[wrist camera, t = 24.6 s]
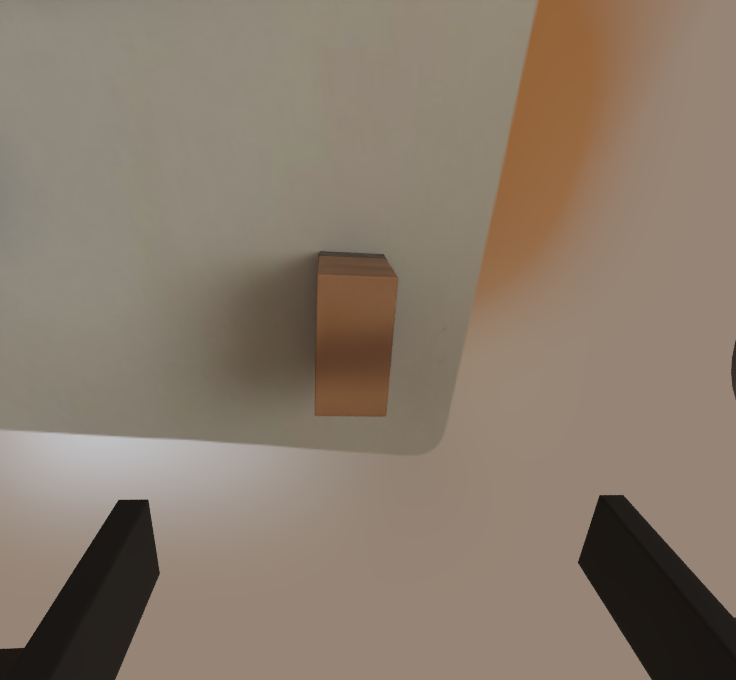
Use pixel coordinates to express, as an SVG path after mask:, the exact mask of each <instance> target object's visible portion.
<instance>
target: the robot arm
mask: <svg viewBox="0 0 736 680" xmlns="http://www.w3.org/2000/svg"><path fill="white" fill-rule="evenodd" d="M578 564H579V565H580V567H581V568H582V570H583V571H584V573H585V575H586V576H587V578H588V579H589V581H590V582H591V584H592V586H593V587H594V589H595V590H596V592H597V593H598V595H599V597H600V598H601V600H602V601H603V603H604V604H605V606H606V608H607V609H608V611H609V613H610V614H611V616H612V617H613V619H614V621H615V622H616V623H617V625H618V627H619V628H620V630H621V632H622V633H623V635H624V636H625V638H626V640H627V641H628V643H629V644H630V645H631V647H632V649H633V650H634V652H635V654H636V655H637V657H638V658H639V660H640V661H641V663H642V665H643V666H644V668H645V670H646V671H647V673H648V674H649V676H650V677H651V679H652V680H736V618H733V616H732V615H731V614H730V613H729V612H728V611H727V610H726V609H725V608H724V606H723V605H722V604H721V603H720V602H719V601H718V600H717V599H716V598H715V596H714V595H713V594H712V593H711V592H710V591H709V590H708V589H707V588H706V587H705V585H704V584H703V583H702V582H701V581H700V580H699V579H698V578H697V577H696V575H695V574H694V573H693V572H692V571H691V570H690V569H689V568H688V567H687V565H686V564H685V563H684V562H683V561H682V560H681V559H680V558H679V557H678V555H677V554H676V553H675V552H674V551H673V550H672V549H671V548H670V547H669V546H668V544H667V543H666V542H665V541H664V540H663V539H662V538H661V537H660V535H658V533H657V532H656V531H655V530H654V529H653V528H652V527H651V526H650V524H648V522H647V521H646V520H645V519H644V518H643V517H642V516H641V515H640V514H639V512H638V511H637V510H636V509H635V508H634V507H633V506H632V504H631V503H630V502H629V501H628V500H627V499H626V498H625V497H624V496H623V495H600V496H599V499H598V502H597V505H596V508H595V512H594V514H593V518H592V521H591V524H590V527H589V530H588V533H587V536H586V539H585V542H584V545H583V549H582V552H581V555H580V558H579V561H578ZM159 574H160V572H159V567H158V559H157V553H156V547H155V540H154V534H153V527H152V521H151V514H150V508H149V501H148V500H118V502H117V503H116V505H115V507H114V508H113V510H112V511H111V513H110V515H109V516H108V518H107V519H106V521H105V522H104V524H103V526H102V527H101V529H100V530H99V532H98V533H97V535H96V537H95V538H94V540H93V541H92V543H91V544H90V546H89V547H88V549H87V551H86V552H85V554H84V555H83V557H82V558H81V560H80V562H79V563H78V565H77V566H76V568H75V569H74V571H73V573H72V574H71V576H70V577H69V579H68V580H67V582H66V584H65V585H64V587H63V588H62V590H61V591H60V593H59V595H58V596H57V598H56V599H55V601H54V602H53V604H52V606H51V607H50V609H49V610H48V612H47V613H46V615H45V617H44V618H43V620H42V621H41V623H40V624H39V626H38V628H37V629H36V631H35V632H34V634H33V636H32V637H31V639H30V640H29V642H28V643H27V645H26V646H25V648H15V649H0V680H115V679H116V676H117V674H118V671H119V669H120V667H121V664H122V662H123V660H124V657H125V655H126V652H127V650H128V648H129V645H130V643H131V641H132V638H133V636H134V634H135V631H136V629H137V626H138V624H139V622H140V619H141V617H142V614H143V612H144V609H145V607H146V605H147V603H148V600H149V598H150V595H151V593H152V591H153V588H154V586H155V583H156V581H157V579H158V576H159Z"/></svg>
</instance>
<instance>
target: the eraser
mask: <svg viewBox="0 0 736 680" xmlns="http://www.w3.org/2000/svg"><path fill="white" fill-rule="evenodd" d="M397 286H398V277H397V275H396V274H395V272H394V270H393V269H392V267H391V266H390V264H389V263H388V261H387V259H386V258H385V256H384V255H383V254H365V253H344V252H322V251H320V255H319V264H318V273H317V315H316V370H315V416H386V411H387V400H388V389H389V377H390V366H391V354H392V343H393V332H394V320H395V309H396V298H397Z"/></svg>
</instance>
